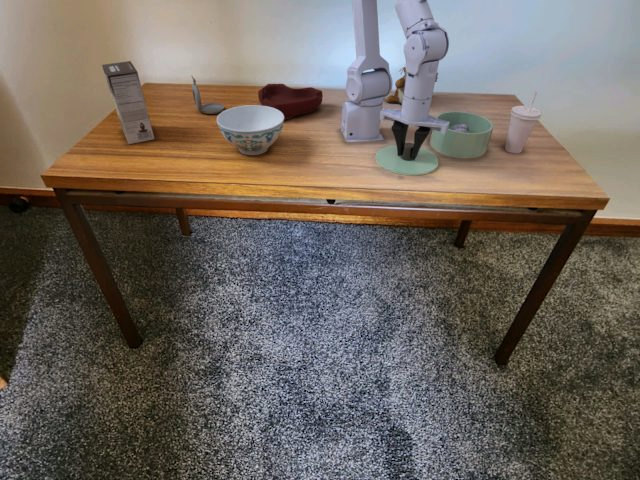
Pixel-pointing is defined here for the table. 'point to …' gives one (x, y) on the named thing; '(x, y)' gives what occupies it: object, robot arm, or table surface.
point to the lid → (406, 160)
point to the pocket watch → (206, 108)
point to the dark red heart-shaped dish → (290, 99)
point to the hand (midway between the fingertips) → (407, 156)
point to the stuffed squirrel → (400, 89)
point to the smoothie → (521, 126)
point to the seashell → (460, 128)
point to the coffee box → (129, 101)
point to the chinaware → (251, 127)
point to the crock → (463, 135)
